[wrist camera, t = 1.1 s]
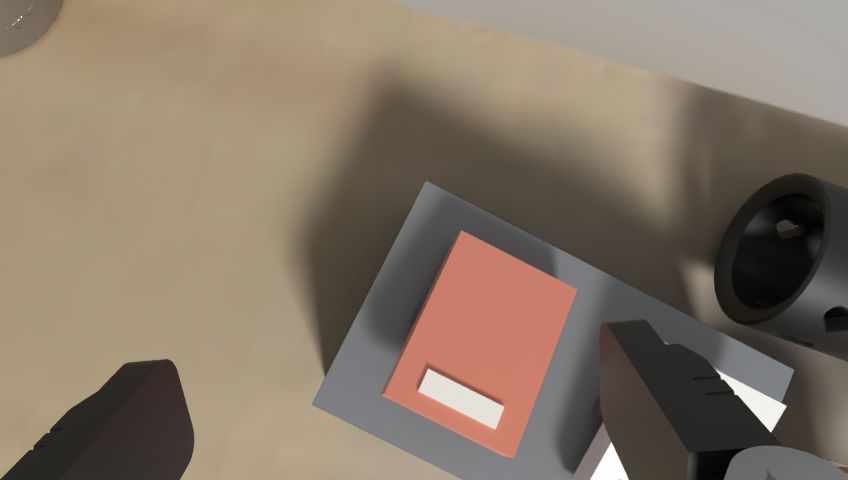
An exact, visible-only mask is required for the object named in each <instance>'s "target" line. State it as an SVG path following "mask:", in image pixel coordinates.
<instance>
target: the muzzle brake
mask: <svg viewBox="0 0 848 480" xmlns="http://www.w3.org/2000/svg"><path fill="white" fill-rule="evenodd" d="M782 220H789V221H790V222H791V223H793V224H794V225H799V226H798V227H796V228H794V229H792V230H788V231H785V232H781V233H778V231H777V229H776V224H777V223H778V222H779V221H782ZM714 286H715V292H716V296H717V300H718V303H719V305H720V307H721V309H722V311H723V312H724V313H725V314H726V315H727V316H728V318H730V319H731V320H733V321H735V322H736V323H739V324H742V325H744V326H747V327H750V328H753V329H756V330H759V331H762V332H765V333H768V334H770V335H773V336H776V337H780V338H782V339H785V340H788V341H791V342H794V343H796V344H799V345H802V346H805V347H808V348H811V349H814V350H817V351H819V352H822V353H825V354H828V355H831V356H834V357H837V358H840V359H843V360H845V361H848V189H845V188H842V187H840V186H837V185H834V184H831V183H829V182H826V181H823V180H820V179H818V178H815V177H812V176H809V175H807V174H798V173H795V174H789V175H784V176H782V177H779V178H776V179H774V180H772V181H771V182H769V183H768V184H766V185H765V186H763V187H761V188H760V189H759V190H758V191H757V192H755V193H754V194H753V195H752V196H751V197H750V198H749V199H748V200H747V201H746V202H745V203H744V204H743V205H742V207H741V208H740V210H739V211H738V212H737V214H736V215H735V216H734V218H733V220H732V221H731V223H730V225H729V227H728V228H727V231H726V233H725V235H724V237H723V239H722V243H721V246H720V250H719V254H718V257H717V261H716V265H715V272H714Z"/></svg>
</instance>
